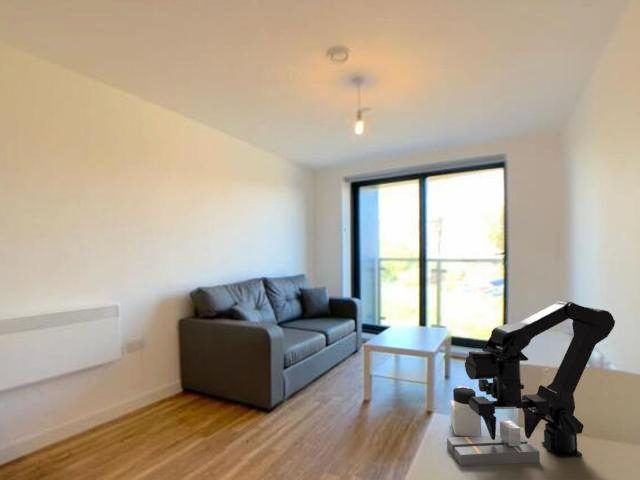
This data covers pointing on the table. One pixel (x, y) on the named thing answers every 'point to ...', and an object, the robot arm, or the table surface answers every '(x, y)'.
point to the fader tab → (510, 433)
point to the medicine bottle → (464, 413)
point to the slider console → (490, 451)
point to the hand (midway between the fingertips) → (510, 438)
